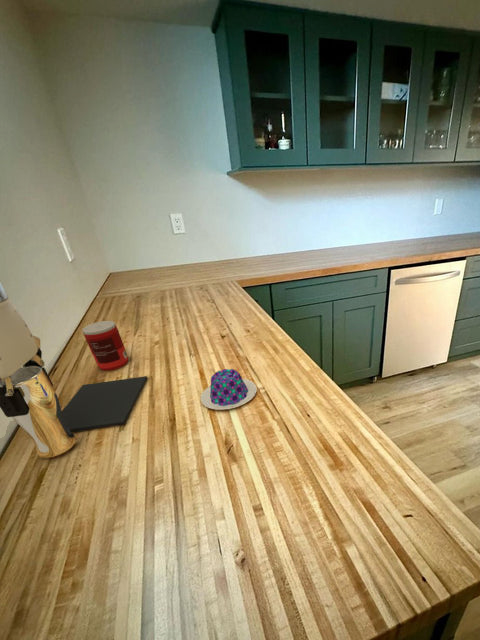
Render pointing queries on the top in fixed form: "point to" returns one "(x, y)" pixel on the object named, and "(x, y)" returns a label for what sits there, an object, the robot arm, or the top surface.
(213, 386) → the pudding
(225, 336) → the top surface
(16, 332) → the robot arm
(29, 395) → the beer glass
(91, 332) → the canned food
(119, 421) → the place mat
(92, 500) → the top surface
